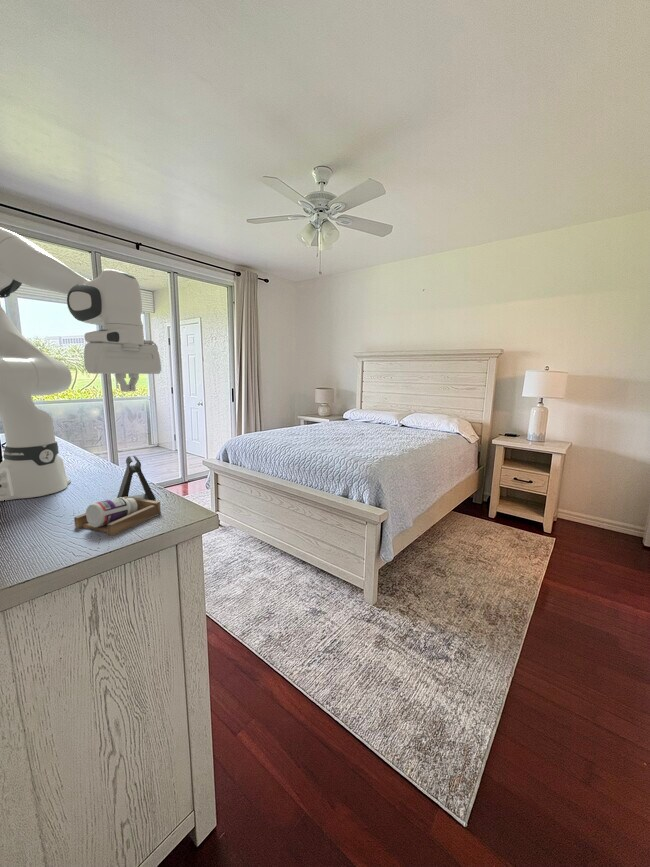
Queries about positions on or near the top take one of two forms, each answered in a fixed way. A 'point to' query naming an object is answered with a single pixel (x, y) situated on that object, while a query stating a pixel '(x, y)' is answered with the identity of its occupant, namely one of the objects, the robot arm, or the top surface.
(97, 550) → the top surface
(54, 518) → the top surface
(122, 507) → the pill bottle
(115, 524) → the tray
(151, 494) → the phone stand
